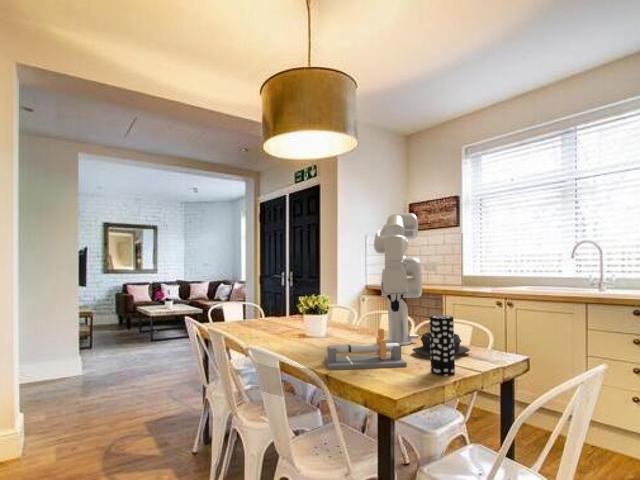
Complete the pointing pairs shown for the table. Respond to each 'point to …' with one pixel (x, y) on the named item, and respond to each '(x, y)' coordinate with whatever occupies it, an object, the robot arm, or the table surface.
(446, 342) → the white-spotted black cylinder
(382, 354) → the collar
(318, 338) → the table surface
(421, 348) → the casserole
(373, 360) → the pipe rig
